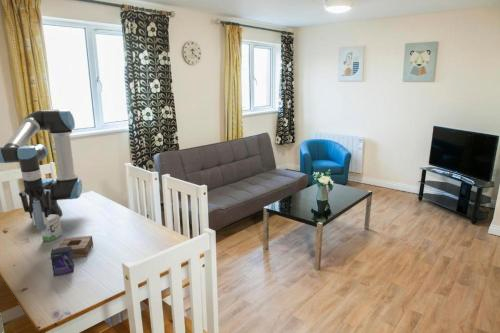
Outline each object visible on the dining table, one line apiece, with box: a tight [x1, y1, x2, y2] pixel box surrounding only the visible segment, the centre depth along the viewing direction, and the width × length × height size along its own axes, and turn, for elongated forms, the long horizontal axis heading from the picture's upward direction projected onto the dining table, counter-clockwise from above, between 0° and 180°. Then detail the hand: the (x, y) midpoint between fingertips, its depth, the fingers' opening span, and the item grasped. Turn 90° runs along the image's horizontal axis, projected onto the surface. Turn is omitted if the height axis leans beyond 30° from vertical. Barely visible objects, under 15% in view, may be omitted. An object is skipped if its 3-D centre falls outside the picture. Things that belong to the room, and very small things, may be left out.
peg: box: [32, 201, 47, 231], centre depth 168 cm, size 4×4×14 cm
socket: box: [57, 235, 94, 260], centre depth 169 cm, size 13×13×5 cm
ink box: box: [40, 214, 63, 242], centre depth 183 cm, size 9×5×12 cm, turn 168°
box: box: [50, 246, 75, 277], centre depth 152 cm, size 8×6×11 cm
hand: (41, 223), depth 169 cm, fingers closed on peg, 4 cm apart
